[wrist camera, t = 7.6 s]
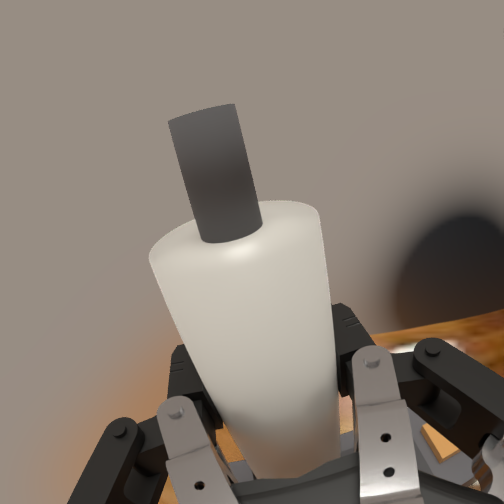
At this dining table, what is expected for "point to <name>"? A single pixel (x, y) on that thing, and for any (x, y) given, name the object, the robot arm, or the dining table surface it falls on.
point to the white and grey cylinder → (252, 302)
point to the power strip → (426, 450)
